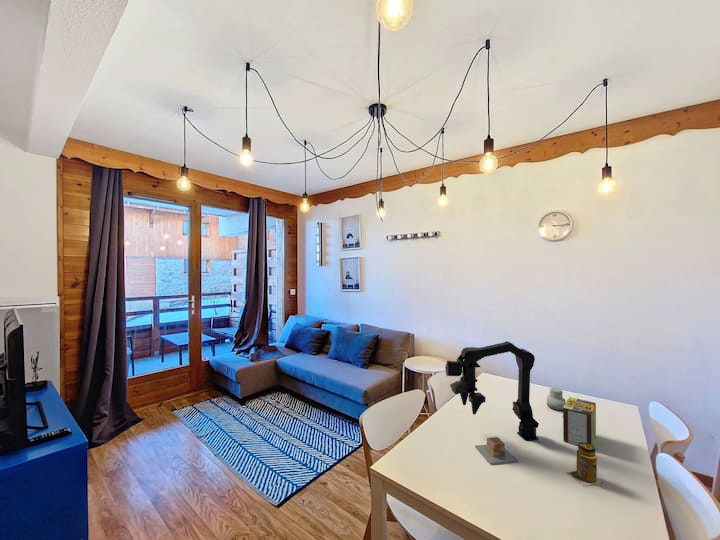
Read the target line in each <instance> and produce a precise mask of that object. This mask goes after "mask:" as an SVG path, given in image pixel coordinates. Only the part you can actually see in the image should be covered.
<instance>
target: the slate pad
mask: <svg viewBox="0 0 720 540" xmlns="http://www.w3.org/2000/svg"><path fill="white" fill-rule="evenodd" d="M474 448H475V449H476V450H477V451H478V452H479V454H480V455H481V456H482V457H483V458H484V459H485V461H486V462H487V463H488V464H489V465H491V466H492V465H500V464H501V465H502V464H509V463H510V464H511V463H512V464H513V463H519V459H517V457H515V456H514V455H513V454H512V453H511V452H510V450H508V449H507V448H506V447H505V456H497V457H493V456H492V455H491V454H490V453H489V451H488V450H487V444H479V445H474Z"/></svg>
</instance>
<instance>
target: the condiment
mask: <svg viewBox="0 0 720 540" xmlns="http://www.w3.org/2000/svg"><path fill="white" fill-rule="evenodd" d="M596 453H597V452H596V447H595V446H594V444H593V445H591V444H588V443H585V442H579V443H578V446H577V449H576V462H575V463H576V464H575V465H576V470H573V471H567V472H565V473H566V474H567V475H568V476H570V477H571V478H572V479H574V480H575V481H576V482H577V483H579V484H581V485H582V486H583V487H588V486H591V485H598V484H602V483H603V481H602V480H600V479H599V478H598V477H597V474H598V473H597V472H598V471H597V470H598V467H597V466H598V465H597V464H598V461H597V460H598V457H597V455H596Z"/></svg>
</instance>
